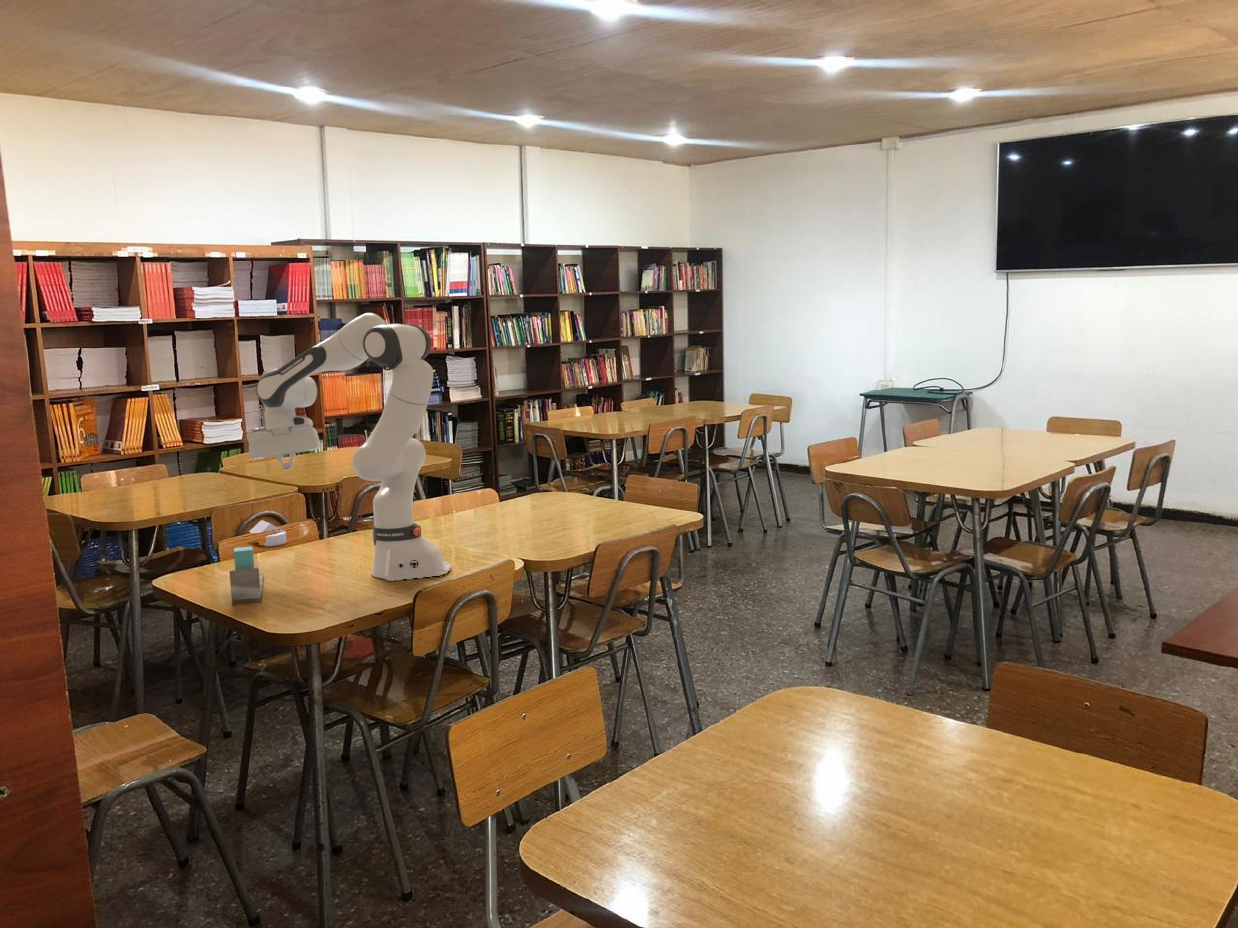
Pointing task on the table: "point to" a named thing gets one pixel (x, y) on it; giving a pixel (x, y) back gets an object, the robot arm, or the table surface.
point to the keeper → (243, 557)
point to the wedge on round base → (270, 539)
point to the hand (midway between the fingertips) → (288, 469)
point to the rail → (246, 585)
